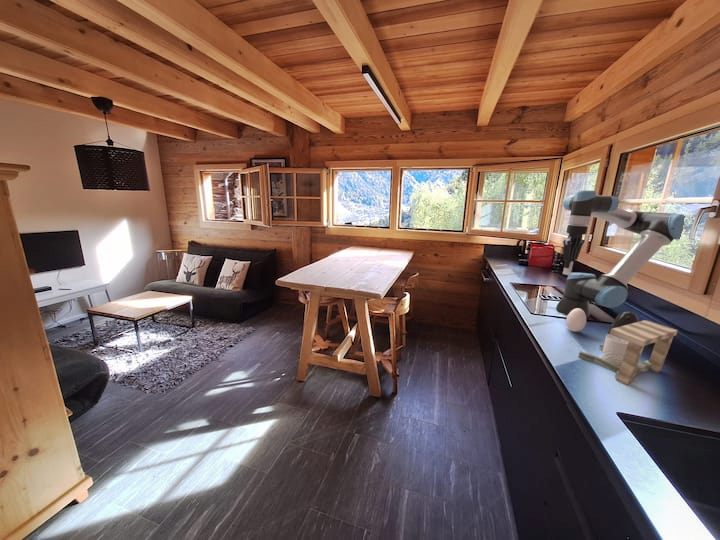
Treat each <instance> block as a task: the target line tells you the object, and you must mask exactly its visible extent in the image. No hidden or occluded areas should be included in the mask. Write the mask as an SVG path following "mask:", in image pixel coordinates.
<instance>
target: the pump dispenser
mask: <svg viewBox="0 0 720 540" xmlns="http://www.w3.org/2000/svg"><path fill="white" fill-rule="evenodd" d="M636 322H640V321H639V317H638V316H637V314H636V313H634V312H632V311H628V310H627V311H625V310H624V311H622V312H620V313H619V314H618V315H617V316H616V317H615V318H614V320H613V321H612V322H611V324H610V326H609V328H608V330H607V335H608V334H610V331H611V329H613V328H617V327H621V326H624V325H628V324H632V323H636Z"/></svg>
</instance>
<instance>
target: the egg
mask: <svg viewBox="0 0 720 540" xmlns="http://www.w3.org/2000/svg"><path fill="white" fill-rule="evenodd" d="M565 324H566V326H567V328H568V329H569V331H571V332H573V333H577V332H580V331H582V330H583V329H584V328H585V326H586V325H587V318H586V315H585V312H584V311H583V310H582V309H580V308H576V309H573V310H572V311H571V312H570V313H569V314H568V315H566V322H565Z"/></svg>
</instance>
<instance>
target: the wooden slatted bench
mask: <svg viewBox="0 0 720 540" xmlns="http://www.w3.org/2000/svg"><path fill="white" fill-rule="evenodd" d="M678 331H679V330H678V329H676V328H672V327H670V326H666V325H663V324H660V323H656V322H653V321H650V320H647V319H644V320H641V321H639V322H636V323H632V324H628V325H624V326H621V327H617V328H613V329H611V331H610V335H613V336H616V337H618V338H621V339H623V340H626V341H629V342H628V345H627V348H626V351H625V355H624V358H623V361H622V364H621V367H619V366H616V365H614V364H612V363H610V362H608V361H606V360H603V359H601V357H599V356H596V355H594V354H591V353H587V352H583V351H582V350H581V351H579V353H578V358H581V359H583V360H586V361H590V362H593V363H595V364H597V365H599V366H601V367H604V368H605V369H607V370H610V371H612V372H614V373H616V374H615V377H614V378H615V379H616V381H618V382H619V383H620V384H621V383H622V384H624V385H625V386H629V385H631V384H632V383H633V379H634V377H635V376H637V375H640V374H642V373H644V372H648V371H652V372H655V373H660V372H661V371H662V368H663V366H664V363H665V360H666V357H667V356H668V352H669V350H670V347H671V344H672V342H673V338H674V336H677V334H678ZM651 344H654V345H653V349H652V351H651V354H650V357H649V359H645V360H644V361H641V362H640V359H641V356H642V353H643V351H644V348H645V346H648V345H651ZM603 347H604V344H600V345H599V347H598V349H599V351H601V352H603Z"/></svg>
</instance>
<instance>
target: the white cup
mask: <svg viewBox="0 0 720 540" xmlns="http://www.w3.org/2000/svg"><path fill="white" fill-rule="evenodd" d="M604 339H605V340H604V344H603V345H604V347H603V352H602V351H601V352H602V355H601V357H600V358H601V359H603V360H606V361H608V362H610V363H612V364H614V365H616V366H619V367H621V364H622V361H623V358H624V355H625V351H626V348H627V345H628V342H629V341H626V340H623V339H621V338H618V337H616V336H613V335H610V334H608V333H607V334H605V338H604Z"/></svg>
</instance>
